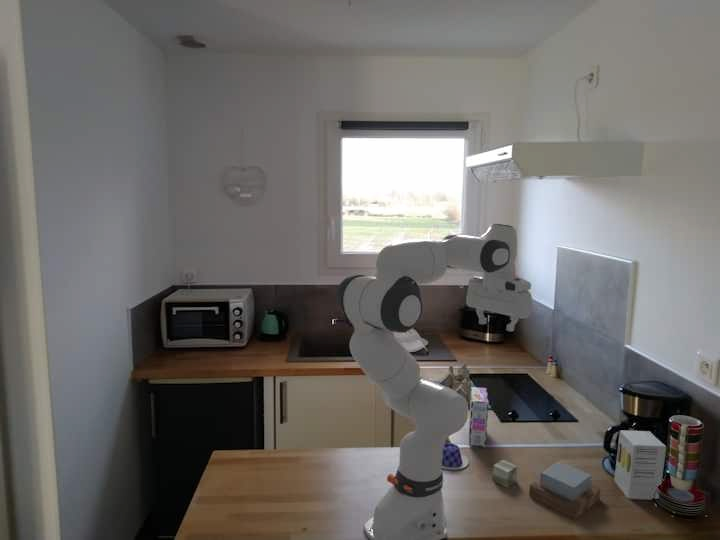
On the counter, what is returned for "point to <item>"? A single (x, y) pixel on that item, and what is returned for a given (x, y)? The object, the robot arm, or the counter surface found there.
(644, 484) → the supplement box
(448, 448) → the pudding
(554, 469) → the grey slab
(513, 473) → the sage block
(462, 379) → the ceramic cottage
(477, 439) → the candy box
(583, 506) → the walnut slab
